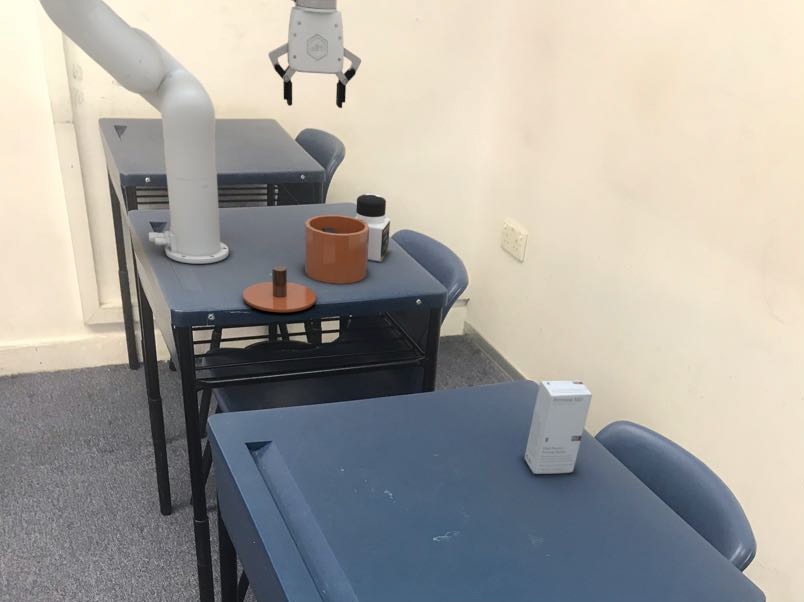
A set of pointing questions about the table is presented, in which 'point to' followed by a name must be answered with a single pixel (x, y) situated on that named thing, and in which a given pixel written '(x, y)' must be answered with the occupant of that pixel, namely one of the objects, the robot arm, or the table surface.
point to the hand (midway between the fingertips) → (314, 105)
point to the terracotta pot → (336, 249)
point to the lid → (279, 294)
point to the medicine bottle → (374, 224)
